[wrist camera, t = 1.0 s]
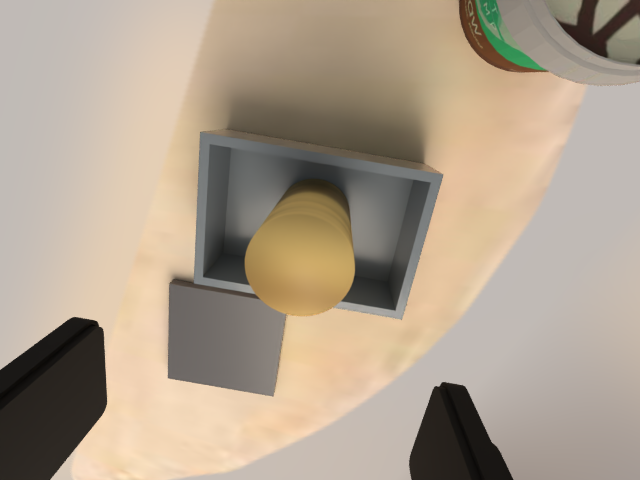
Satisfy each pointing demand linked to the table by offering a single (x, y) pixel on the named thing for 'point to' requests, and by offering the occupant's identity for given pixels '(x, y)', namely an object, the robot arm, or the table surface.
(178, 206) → the table surface
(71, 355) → the robot arm
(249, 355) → the gray square plate
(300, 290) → the mustard cylinder
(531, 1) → the food container
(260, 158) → the slate open box
